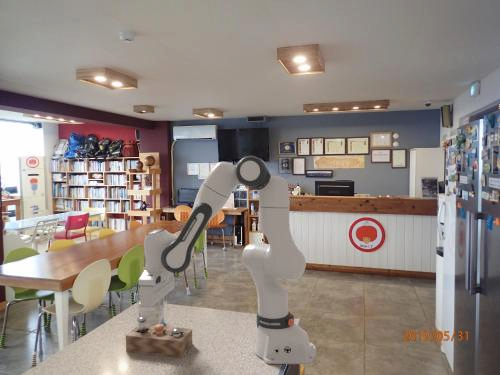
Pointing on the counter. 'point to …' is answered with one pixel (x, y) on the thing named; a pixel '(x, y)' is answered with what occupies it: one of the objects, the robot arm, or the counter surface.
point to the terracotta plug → (159, 329)
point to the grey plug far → (142, 324)
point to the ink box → (151, 314)
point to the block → (159, 342)
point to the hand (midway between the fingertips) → (160, 309)
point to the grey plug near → (176, 332)
